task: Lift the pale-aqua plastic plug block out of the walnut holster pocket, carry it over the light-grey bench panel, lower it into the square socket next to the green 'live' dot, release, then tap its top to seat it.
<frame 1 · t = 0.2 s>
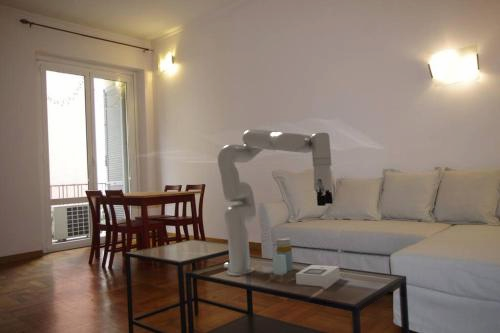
hand: (325, 204, 159), 31 cm above the table, fingers open, 9 cm apart
panel: (318, 282, 156), on the table
bottle: (285, 272, 177), on the table
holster: (280, 282, 161), on the table
plug: (280, 279, 161), point 1 cm above the table, touching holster
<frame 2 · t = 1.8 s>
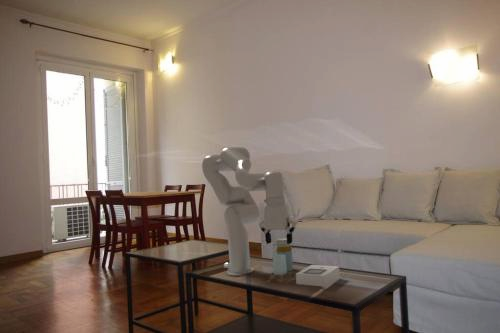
hand: (279, 243, 161), 16 cm above the table, fingers open, 9 cm apart
nothing on the table moved.
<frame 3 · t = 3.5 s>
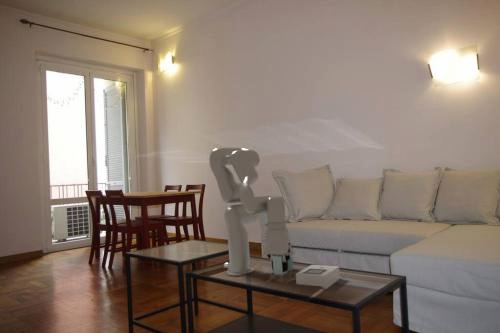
hand: (280, 270, 161), 5 cm above the table, fingers closed on plug, 4 cm apart
plug: (280, 279, 161), point 1 cm above the table, touching gripper, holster
everything else where it was.
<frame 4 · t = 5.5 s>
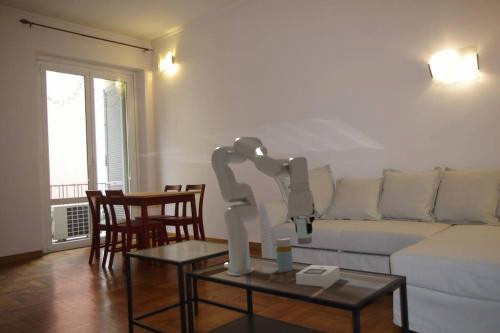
hand: (304, 233, 156), 20 cm above the table, fingers closed on plug, 4 cm apart
plug: (305, 243, 155), point 16 cm above the table, touching gripper
everything else where it was.
when the fingers open (6 cm above the table, at t = 7.8 s): plug stays where it is, resting on panel.
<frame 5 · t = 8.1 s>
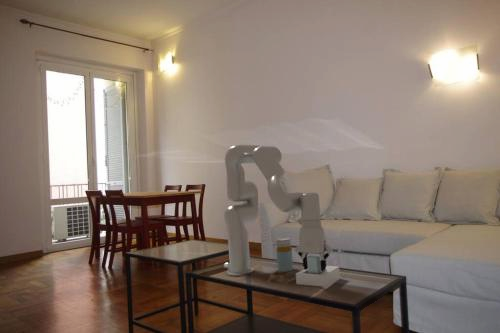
hand: (314, 269, 154), 6 cm above the table, fingers open, 6 cm apart
plug: (315, 281, 153), point 1 cm above the table, touching panel
everything else where it was.
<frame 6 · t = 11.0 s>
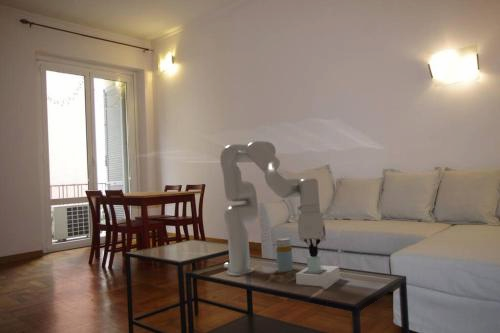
hand: (313, 255, 154), 11 cm above the table, fingers closed
nothing on the table moved.
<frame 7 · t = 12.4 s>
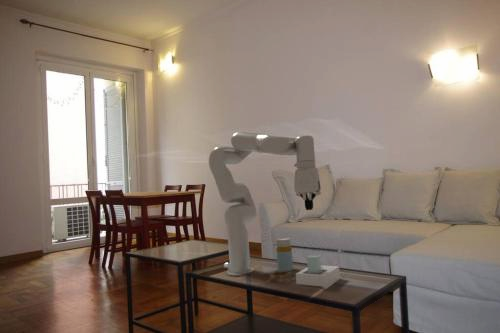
hand: (309, 209, 161), 29 cm above the table, fingers closed
nothing on the table moved.
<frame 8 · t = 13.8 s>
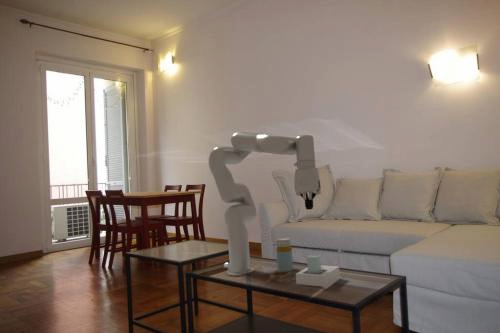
hand: (309, 209, 161), 29 cm above the table, fingers closed
nothing on the table moved.
at the end: plug 0.1 cm from the target spot on the panel, point 1.0 cm above the panel's base; plug tilted 0°; the gripper is holding nothing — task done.
